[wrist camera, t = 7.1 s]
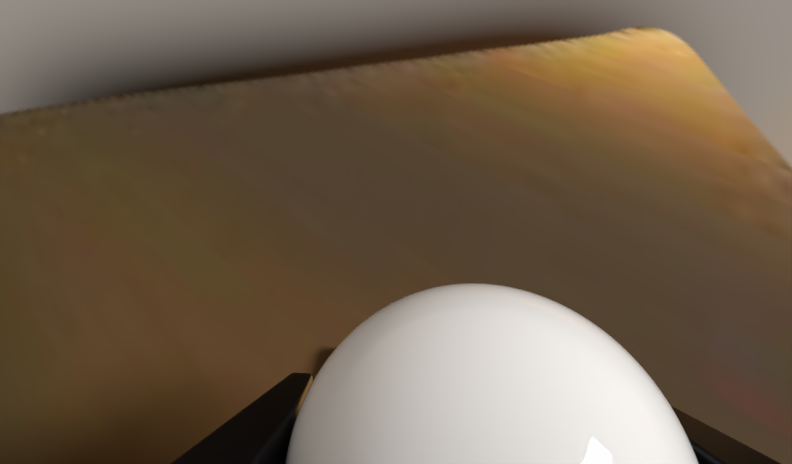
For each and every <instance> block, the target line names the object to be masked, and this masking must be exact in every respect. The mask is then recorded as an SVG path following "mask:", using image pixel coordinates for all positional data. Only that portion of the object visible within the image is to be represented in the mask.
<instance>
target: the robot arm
mask: <svg viewBox="0 0 792 464" xmlns="http://www.w3.org/2000/svg"><path fill="white" fill-rule="evenodd" d="M312 382H313V377H312V375H311V374H309V373H292V374H290V375H289V376H287V377H286V378H285V379H283V380H282V381H281V382H279V383H278V384H277V385H275V386H274V387H273V388H271V389H270V390H269V391H267V392H266V393H265V394H263V395H262V396H261V397H259V398H258V399H257V400H255V401H254V402H253V403H251V404H250V405H249V406H247V407H246V408H245V409H243V410H242V411H240V412H239V413H238V414H236V415H235V416H234V417H232V418H231V419H230V420H228V421H227V422H226V423H224V424H223V425H222V426H220V427H219V428H218V429H216V430H215V431H214V432H212V433H211V434H210V435H208V436H207V437H206V438H204V439H203V440H202V441H200V442H199V443H198V444H196V445H195V446H194V447H192V448H191V449H190V450H188V451H187V452H186V453H184V454H183V455H182V456H180V457H179V458H177V459H176V460H175V461H173V462H172V463H171V464H285V460H286V454H287V449H288V445H289V441H290V437H291V434H292V430H293V427H294V424H295V421H296V418H297V415H298V412H299V410H300V407H301V405H302V403H303V400H304V398H305V396H306V394H307V392H308V390H309V388H310V386H311V384H312ZM671 407H672V406H671ZM672 409H673V410H674V412H675V414H676V415H677V417H678V419H679V421H680V423H681V425H682V427H683V428H684V430H685V433H686V435H687V437H688V439H689V441H690V443H691V445H692V448H693V450H694V452H695V455H696V457H697V460H698V463H699V464H781V463H779V462H777V461H775V460H773V459H771V458H769V457H767V456H766V455H764V454H762V453H760V452H758V451H756V450H754V449H752V448H750V447H748V446H746V445H745V444H743V443H741V442H739V441H737V440H735V439H733V438H731V437H729V436H727V435H726V434H724V433H722V432H720V431H718V430H716V429H714V428H712V427H710V426H708V425H706V424H705V423H703V422H701V421H699V420H697V419H695V418H693V417H691V416H689V415H687V414H685V413H684V412H682V411H680V410H678V409H676V408H674V407H672Z"/></svg>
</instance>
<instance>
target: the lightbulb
mask: <svg viewBox="0 0 792 464" xmlns="http://www.w3.org/2000/svg"><path fill="white" fill-rule="evenodd" d="M285 464H699V463H698V460H697V457H696V455H695V452H694V450H693V448H692V445H691V443H690V441H689V439H688V437H687V435H686V433H685V430H684V428H683V427H682V425H681V423H680V421H679V419H678V417H677V415H676V414H675V412H674V410H673V409H672V407H671V405H670V404H669V402H668V401H667V399H666V398H665V396H664V395H663V393H662V392H661V391H660V389H659V388H658V386H657V385H656V384H655V382H654V381H653V380H652V378H651V377H650V376H649V375H648V373H647V372H646V371H645V370H644V369H643V368H642V366H641V365H640V364H639V363H638V362H637V361H636V360H635V359H634V358H633V357H632V356H631V355H630V354H629V353H628V352H627V351H626V350H625V349H624V348H623V347H622V346H621V345H620V344H619V343H618V342H617V341H615V340H614V339H613V338H612V337H611V336H610V335H608V334H607V333H606V332H604V331H603V330H602V329H601V328H599V327H598V326H596V325H595V324H594V323H592V322H591V321H589V320H588V319H586V318H585V317H583V316H581V315H580V314H578V313H576V312H575V311H573V310H571V309H569V308H567V307H565V306H563V305H561V304H559V303H557V302H555V301H553V300H550V299H548V298H545V297H543V296H540V295H537V294H534V293H531V292H528V291H524V290H520V289H516V288H512V287H507V286H501V285H494V284H481V283H464V284H452V285H445V286H439V287H434V288H430V289H426V290H423V291H419V292H416V293H413V294H411V295H408V296H406V297H403V298H401V299H399V300H397V301H395V302H393V303H391V304H389V305H387V306H385V307H384V308H382V309H380V310H379V311H377V312H376V313H374V314H373V315H371V316H370V317H369V318H367V319H366V320H365V321H363V322H362V323H361V324H360V325H359V326H357V327H356V328H355V329H354V330H353V331H352V332H351V333H350V334H349V335H348V336H347V337H346V338H345V339H344V340H343V341H342V342H341V343H340V344H339V345H338V346H337V348H336V349H335V350H334V351H333V352H332V354H331V355H330V356H329V357H328V359H327V360H326V362H325V363H324V364H323V366H322V367H321V369H320V370H319V372H318V374H317V375H316V377H315V379H314V380H313V382H312V384H311V386H310V388H309V390H308V392H307V394H306V396H305V398H304V400H303V403H302V405H301V407H300V410H299V412H298V415H297V418H296V421H295V424H294V427H293V430H292V434H291V437H290V441H289V445H288V449H287V454H286V460H285Z"/></svg>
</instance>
